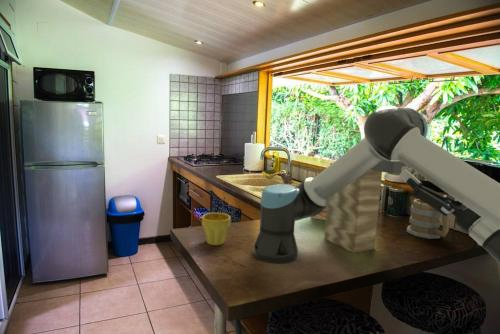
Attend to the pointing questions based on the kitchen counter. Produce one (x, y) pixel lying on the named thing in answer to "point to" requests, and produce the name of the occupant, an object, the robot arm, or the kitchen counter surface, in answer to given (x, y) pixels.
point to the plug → (387, 166)
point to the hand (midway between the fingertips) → (417, 171)
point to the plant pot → (215, 227)
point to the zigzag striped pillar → (355, 213)
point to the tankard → (426, 221)
